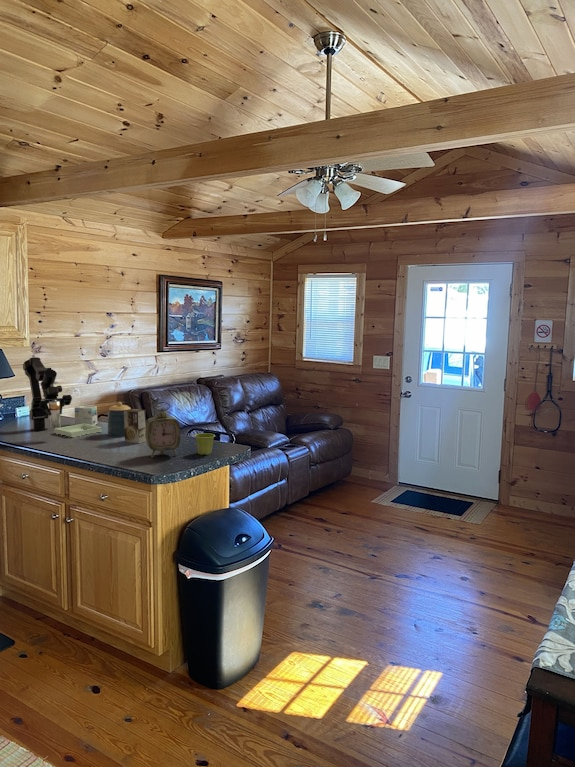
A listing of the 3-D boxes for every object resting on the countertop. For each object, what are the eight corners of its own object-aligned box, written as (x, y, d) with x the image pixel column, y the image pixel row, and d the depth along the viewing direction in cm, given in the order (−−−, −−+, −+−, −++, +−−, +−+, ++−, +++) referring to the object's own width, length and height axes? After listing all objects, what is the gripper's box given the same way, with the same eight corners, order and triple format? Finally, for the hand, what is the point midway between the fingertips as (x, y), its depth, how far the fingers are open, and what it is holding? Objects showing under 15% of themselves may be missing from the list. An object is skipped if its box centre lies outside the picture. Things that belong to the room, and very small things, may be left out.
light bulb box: (97, 424, 333) (97, 405, 332) (92, 426, 327) (92, 407, 325) (80, 423, 334) (79, 405, 333) (74, 426, 328) (74, 407, 326)
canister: (102, 435, 304) (101, 402, 301) (118, 431, 316) (117, 399, 313) (122, 438, 299) (121, 404, 297) (137, 433, 311) (137, 401, 309)
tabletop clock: (148, 459, 258) (147, 404, 255) (145, 454, 266) (144, 401, 263) (180, 456, 264) (180, 402, 261) (176, 451, 272) (175, 399, 269)
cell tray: (54, 433, 307) (54, 428, 307) (84, 428, 322) (84, 423, 321) (71, 437, 298) (71, 432, 297) (101, 432, 312) (101, 427, 312)
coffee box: (147, 441, 293) (146, 409, 291) (138, 443, 287) (138, 411, 285) (132, 439, 297) (132, 408, 295) (124, 441, 291) (123, 410, 289)
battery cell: (47, 427, 290) (46, 400, 288) (56, 425, 294) (55, 398, 293) (54, 428, 287) (53, 401, 286) (62, 426, 292) (61, 399, 290)
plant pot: (205, 450, 276) (205, 432, 275) (219, 453, 270) (219, 435, 269) (190, 453, 269) (190, 435, 268) (204, 457, 263) (204, 438, 262)
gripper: (31, 381, 285) (38, 406, 278) (70, 379, 297) (77, 403, 289) (28, 395, 292) (34, 420, 285) (66, 392, 304) (73, 416, 297)
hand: (55, 414), depth 289 cm, fingers closed on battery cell, 5 cm apart
